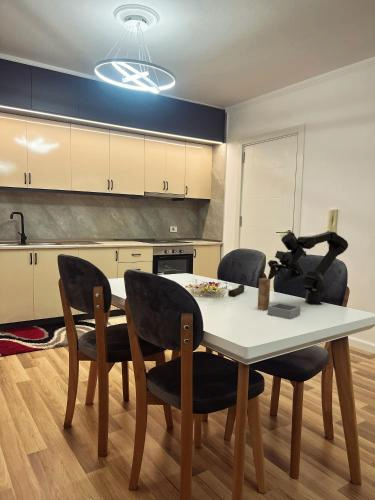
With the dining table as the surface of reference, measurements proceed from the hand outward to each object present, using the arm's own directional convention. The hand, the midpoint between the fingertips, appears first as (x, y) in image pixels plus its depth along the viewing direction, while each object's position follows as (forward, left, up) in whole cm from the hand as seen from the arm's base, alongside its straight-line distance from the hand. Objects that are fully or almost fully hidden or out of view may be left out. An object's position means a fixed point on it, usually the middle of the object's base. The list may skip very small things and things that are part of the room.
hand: (275, 281), depth 175 cm
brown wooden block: (+6, +3, -13) cm, 14 cm away
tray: (-1, +12, -13) cm, 18 cm away
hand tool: (+11, -32, -13) cm, 36 cm away
